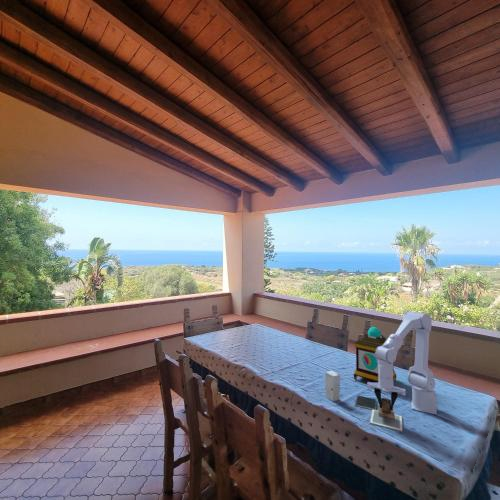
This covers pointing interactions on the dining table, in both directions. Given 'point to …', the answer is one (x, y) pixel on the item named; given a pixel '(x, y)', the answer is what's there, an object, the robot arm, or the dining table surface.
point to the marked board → (386, 421)
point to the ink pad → (366, 402)
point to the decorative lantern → (369, 355)
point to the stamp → (386, 409)
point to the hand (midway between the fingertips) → (386, 408)
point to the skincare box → (332, 386)
